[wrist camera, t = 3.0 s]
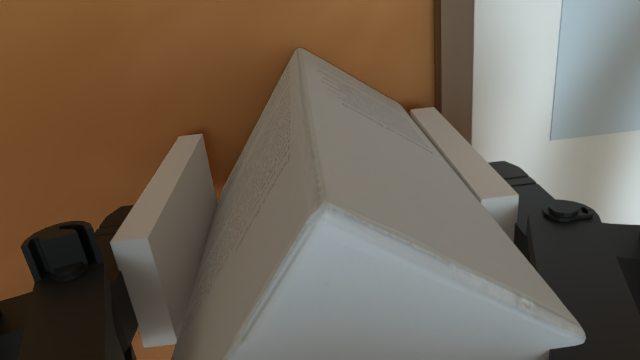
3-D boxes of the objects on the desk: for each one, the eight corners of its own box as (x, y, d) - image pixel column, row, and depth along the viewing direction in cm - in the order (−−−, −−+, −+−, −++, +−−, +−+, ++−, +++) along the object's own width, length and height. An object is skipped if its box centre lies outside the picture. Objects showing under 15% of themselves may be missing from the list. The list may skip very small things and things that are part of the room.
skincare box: (322, 235, 19) (358, 601, 8) (220, 188, 18) (107, 533, 7) (407, 99, 17) (607, 343, 6) (298, 38, 16) (306, 199, 5)
